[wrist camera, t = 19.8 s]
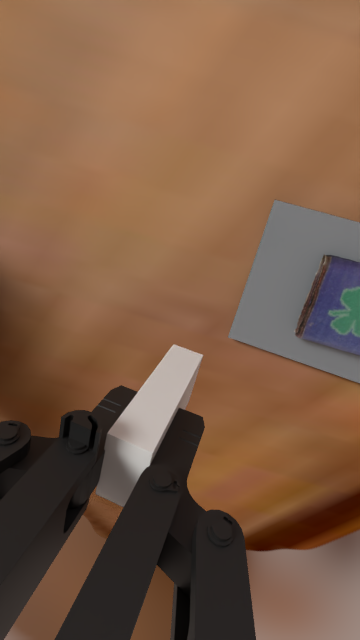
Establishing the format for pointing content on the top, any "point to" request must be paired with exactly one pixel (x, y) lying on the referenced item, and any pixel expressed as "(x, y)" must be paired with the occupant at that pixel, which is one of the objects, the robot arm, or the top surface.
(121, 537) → the robot arm
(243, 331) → the slate board
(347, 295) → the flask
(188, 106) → the top surface
